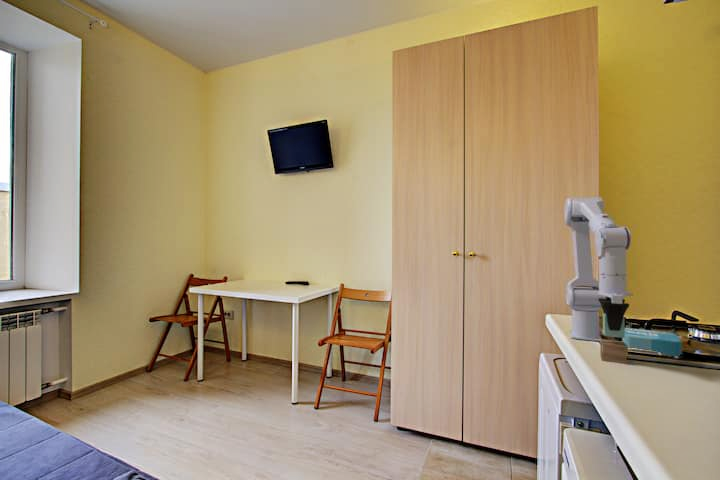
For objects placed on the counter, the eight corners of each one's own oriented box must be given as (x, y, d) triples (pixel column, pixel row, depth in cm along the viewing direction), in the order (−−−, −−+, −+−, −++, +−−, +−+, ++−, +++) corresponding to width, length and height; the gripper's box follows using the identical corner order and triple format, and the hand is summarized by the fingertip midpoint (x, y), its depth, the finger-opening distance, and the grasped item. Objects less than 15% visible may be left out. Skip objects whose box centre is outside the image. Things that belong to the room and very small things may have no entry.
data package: (623, 335, 95) (621, 327, 105) (623, 352, 95) (622, 342, 105) (683, 342, 88) (675, 332, 98) (683, 360, 88) (675, 349, 98)
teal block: (602, 332, 92) (602, 313, 92) (621, 334, 90) (621, 314, 90) (604, 335, 88) (604, 315, 88) (624, 337, 86) (624, 317, 86)
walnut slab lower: (600, 356, 92) (600, 347, 92) (624, 359, 90) (624, 350, 90) (601, 362, 88) (601, 352, 88) (626, 365, 86) (626, 356, 86)
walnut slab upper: (600, 347, 93) (600, 339, 93) (623, 350, 90) (623, 341, 90) (603, 352, 88) (602, 343, 88) (627, 355, 86) (627, 346, 86)
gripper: (638, 277, 81) (639, 336, 81) (626, 273, 94) (627, 324, 94) (601, 276, 84) (602, 333, 84) (595, 272, 97) (595, 321, 97)
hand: (613, 328), depth 89 cm, fingers closed on teal block, 4 cm apart
